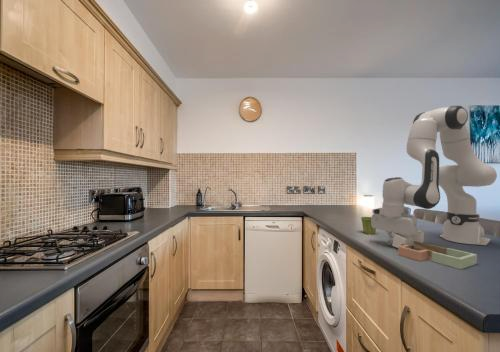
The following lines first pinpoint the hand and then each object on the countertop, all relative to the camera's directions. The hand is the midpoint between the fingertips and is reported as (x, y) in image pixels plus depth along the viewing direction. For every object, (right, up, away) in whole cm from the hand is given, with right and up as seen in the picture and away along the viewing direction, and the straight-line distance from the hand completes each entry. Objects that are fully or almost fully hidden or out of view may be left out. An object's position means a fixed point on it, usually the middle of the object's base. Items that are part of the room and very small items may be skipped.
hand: (392, 241), depth 113 cm
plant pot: (+2, -3, +26) cm, 27 cm away
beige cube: (+12, -3, +2) cm, 13 cm away
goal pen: (+11, -2, -20) cm, 23 cm away
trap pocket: (0, -2, -15) cm, 15 cm away
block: (+2, -2, -3) cm, 4 cm away
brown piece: (+6, -2, -12) cm, 13 cm away
